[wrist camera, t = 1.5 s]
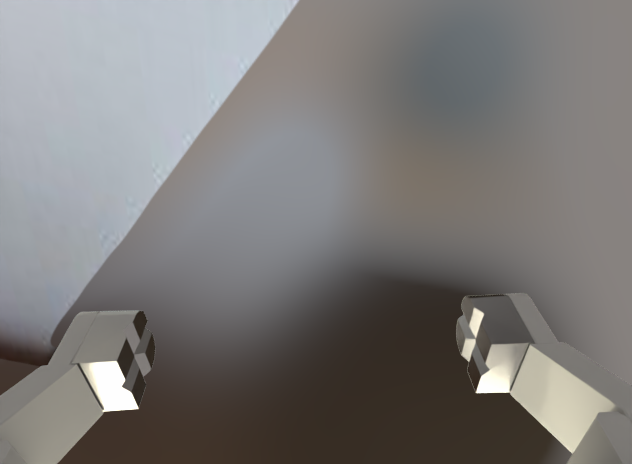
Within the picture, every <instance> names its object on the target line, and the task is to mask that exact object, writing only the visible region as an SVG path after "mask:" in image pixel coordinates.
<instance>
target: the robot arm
mask: <svg viewBox="0 0 632 464" xmlns="http://www.w3.org/2000/svg"><path fill="white" fill-rule="evenodd" d="M461 308H462V310H463V313H464V315H462V316H461V317H460V318H459V319H458V322H457V327H456V336H457V343H458V347H459V350H460V353H461V355H462V356H463V357H464V358H466V359H467V360H468V361H469V365H468V369H467V371H468V374H469V376H470V379H471V381H472V384H473V387H474V389H475V392H476V393H496V392H511V393H510V394H511V395H512V396H513V397H514V398H515V399H516V400H517V401H518V402H519V403H520V404H521V405H522V406H523V407H524V408H525V409H526V410H527V411H528V412H529V413H531V415H533V416H534V417H535V418H536V419H537V420H538V421H539V422H540V423H541V424H542V425H543V426H544V427H545V428H546V429H547V430H548V431H549V432H550V433H551V434H553V436H554V437H556V438H557V439H558V440H559V441H560V442H561V443H562V444H563V445H564V446H565V447H566V448H567V449H568V450H569V451H570V452H571V453H572V456H571V457H570V459H569V461H568V462H567V464H632V385H630V384H629V383H627V382H625V381H624V380H622V379H621V378H619V377H617V376H616V375H615V374H613V373H611V372H610V371H608V370H607V369H605V368H604V367H602V366H601V365H599V364H597V363H596V362H594V361H593V360H591V359H590V358H588V357H587V356H585V355H583V354H582V353H580V352H579V351H577V350H576V349H574V348H572V347H571V346H569V345H568V344H566V343H565V342H562V343H559V342H558V341H557V339H556V338H555V336H554V335H553V333H552V331H551V330H550V328H549V327H548V325H547V323H546V322H545V320H544V319H543V317H542V316H541V314H540V312H539V311H538V309H537V308H536V307H535V305H534V303H533V301H532V300H531V298H530V297H529V295H527V294H526V293H516V294H515V293H514V294H496V295H477V296H466V297H465V298H464V299H463V301H462V305H461ZM147 321H148V320H147V318H146V316H145V314H144V311H101V312H80V313H79V314H78V315H76V316H75V318H74V320H73V321H72V323H71V325H70V327H69V329H68V330H67V332H66V334H65V335H64V337H63V339H62V341H61V342H60V344H59V346H58V348H57V350H56V351H55V353H54V355H53V357H52V358H51V360H50V362H49V364H48V365H47V366H40V367H39V368H38V369H36V370H35V371H34V372H33V373H31V374H30V375H28V376H27V377H26V378H24V379H23V380H21V381H20V382H19V383H17V384H16V385H15V386H13V387H12V388H11V389H9V390H8V391H6V392H5V393H4V394H2V395H1V396H0V464H57V463H58V462H59V461H60V460H61V459H62V458H63V457H64V456H65V454H66V453H67V452H68V451H69V450H70V449H71V448H72V447H73V446H74V444H76V442H77V441H78V440H79V439H80V438H81V437H82V436H83V435H84V434H85V433H86V432H87V431H88V429H89V428H90V427H91V426H92V425H93V424H94V423H95V422H96V421H97V420H98V419H99V418H100V417H101V415H102V414H103V411H113V410H127V409H138V408H139V405H140V402H141V399H142V396H143V393H144V390H145V387H146V383H145V380H144V378H143V376H145V375H146V374H147V373H148V372H149V371H150V370H151V369H152V365H153V362H154V358H155V341H154V337H153V334H152V332H150V331H149V330H147V329H146V328H145V326H146V324H147Z"/></svg>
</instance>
